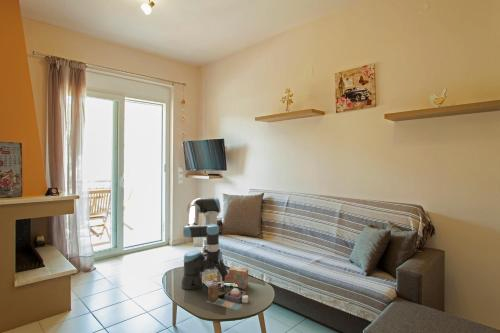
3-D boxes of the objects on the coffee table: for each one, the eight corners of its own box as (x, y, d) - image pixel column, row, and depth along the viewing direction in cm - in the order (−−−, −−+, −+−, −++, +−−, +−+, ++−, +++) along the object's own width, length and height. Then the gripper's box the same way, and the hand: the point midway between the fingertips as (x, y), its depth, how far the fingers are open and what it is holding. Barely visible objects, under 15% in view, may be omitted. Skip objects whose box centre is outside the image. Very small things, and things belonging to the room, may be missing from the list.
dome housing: (224, 300, 183) (224, 295, 183) (232, 293, 192) (232, 288, 192) (238, 303, 178) (238, 298, 178) (245, 296, 187) (245, 291, 187)
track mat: (206, 302, 180) (206, 301, 180) (212, 297, 186) (212, 296, 186) (237, 310, 170) (237, 310, 170) (242, 305, 176) (242, 304, 176)
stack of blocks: (216, 284, 204) (216, 267, 204) (220, 281, 210) (220, 264, 210) (245, 289, 198) (245, 271, 197) (248, 285, 203) (248, 268, 203)
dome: (228, 298, 183) (228, 289, 183) (233, 293, 189) (233, 285, 189) (237, 300, 180) (237, 291, 180) (242, 295, 186) (242, 287, 186)
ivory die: (242, 302, 179) (242, 297, 179) (243, 300, 183) (243, 294, 182) (247, 303, 179) (247, 297, 179) (248, 300, 182) (248, 295, 182)
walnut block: (207, 301, 181) (207, 286, 180) (211, 297, 185) (211, 283, 184) (214, 302, 179) (213, 288, 178) (217, 299, 183) (217, 285, 182)
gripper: (192, 249, 183) (192, 282, 183) (227, 254, 171) (227, 290, 172) (199, 245, 189) (200, 278, 190) (233, 251, 178) (233, 285, 179)
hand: (212, 284), depth 181 cm, fingers open, 13 cm apart
